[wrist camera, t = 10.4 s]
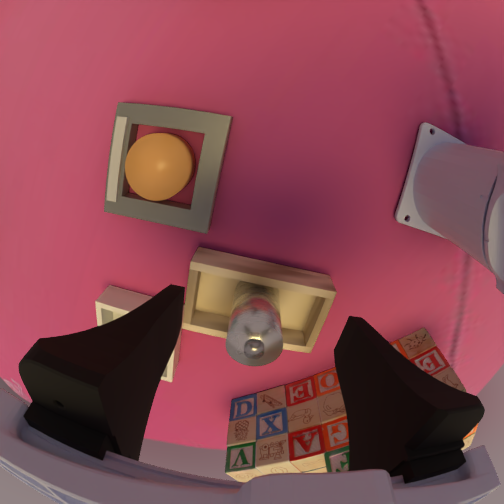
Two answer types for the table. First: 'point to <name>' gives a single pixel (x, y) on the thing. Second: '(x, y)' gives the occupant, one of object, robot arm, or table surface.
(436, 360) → the stack of blocks
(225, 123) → the grey square frame
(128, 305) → the white square tray
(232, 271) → the trough
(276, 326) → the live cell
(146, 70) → the table surface
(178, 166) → the button
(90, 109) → the table surface
